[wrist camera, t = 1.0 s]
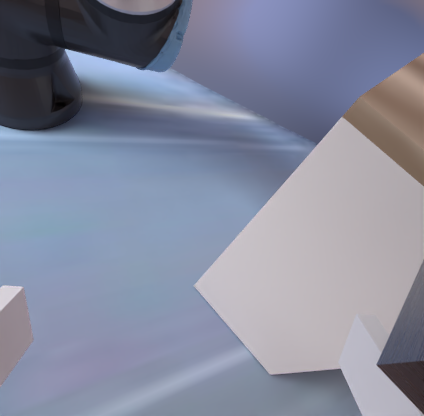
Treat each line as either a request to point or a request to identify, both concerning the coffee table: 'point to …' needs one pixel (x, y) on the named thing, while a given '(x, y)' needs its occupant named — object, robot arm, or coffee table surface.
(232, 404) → the coffee table surface
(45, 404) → the coffee table surface
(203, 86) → the coffee table surface
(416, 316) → the metal bar
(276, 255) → the pedestal
